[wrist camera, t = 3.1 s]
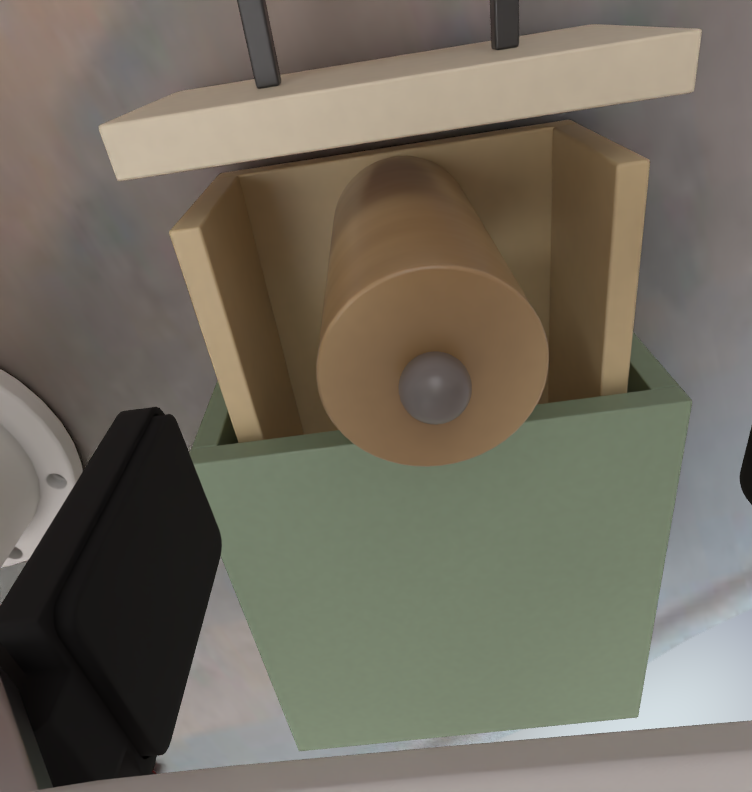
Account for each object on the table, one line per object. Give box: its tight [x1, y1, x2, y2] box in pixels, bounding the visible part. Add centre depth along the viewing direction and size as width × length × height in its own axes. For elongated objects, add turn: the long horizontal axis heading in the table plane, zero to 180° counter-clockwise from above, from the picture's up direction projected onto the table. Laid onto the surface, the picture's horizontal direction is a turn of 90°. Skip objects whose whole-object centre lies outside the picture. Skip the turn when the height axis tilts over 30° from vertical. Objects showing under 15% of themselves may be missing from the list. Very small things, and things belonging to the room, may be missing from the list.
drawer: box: [99, 0, 702, 443], centre depth 18 cm, size 19×13×7 cm
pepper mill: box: [316, 156, 549, 467], centre depth 15 cm, size 5×5×11 cm
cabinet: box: [189, 333, 692, 751], centre depth 24 cm, size 16×14×9 cm
